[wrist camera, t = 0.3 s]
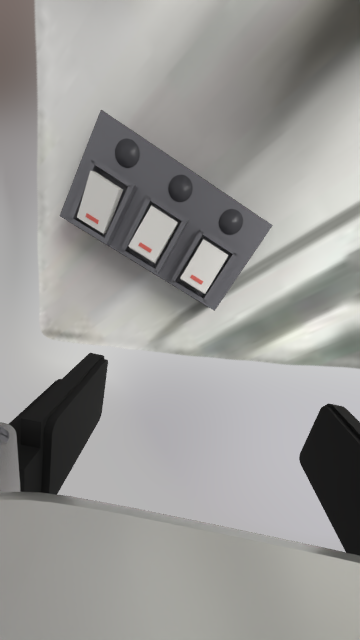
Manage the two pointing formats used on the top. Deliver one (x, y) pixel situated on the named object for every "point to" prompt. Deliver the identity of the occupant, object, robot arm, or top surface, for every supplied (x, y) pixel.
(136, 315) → the top surface
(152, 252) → the middle rocker
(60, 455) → the robot arm
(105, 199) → the rocker
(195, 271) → the rocker
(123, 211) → the rocker switch panel
